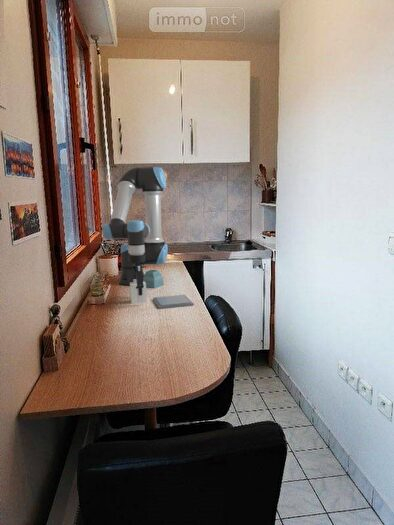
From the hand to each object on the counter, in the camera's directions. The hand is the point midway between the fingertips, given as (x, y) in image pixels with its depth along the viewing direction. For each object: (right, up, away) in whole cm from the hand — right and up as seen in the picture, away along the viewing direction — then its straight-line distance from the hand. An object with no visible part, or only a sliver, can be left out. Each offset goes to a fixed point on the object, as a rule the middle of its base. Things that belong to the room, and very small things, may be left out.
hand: (138, 298), depth 180 cm
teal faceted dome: (+3, +13, +29) cm, 32 cm away
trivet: (+16, -2, -2) cm, 17 cm away
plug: (0, -2, 0) cm, 2 cm away
